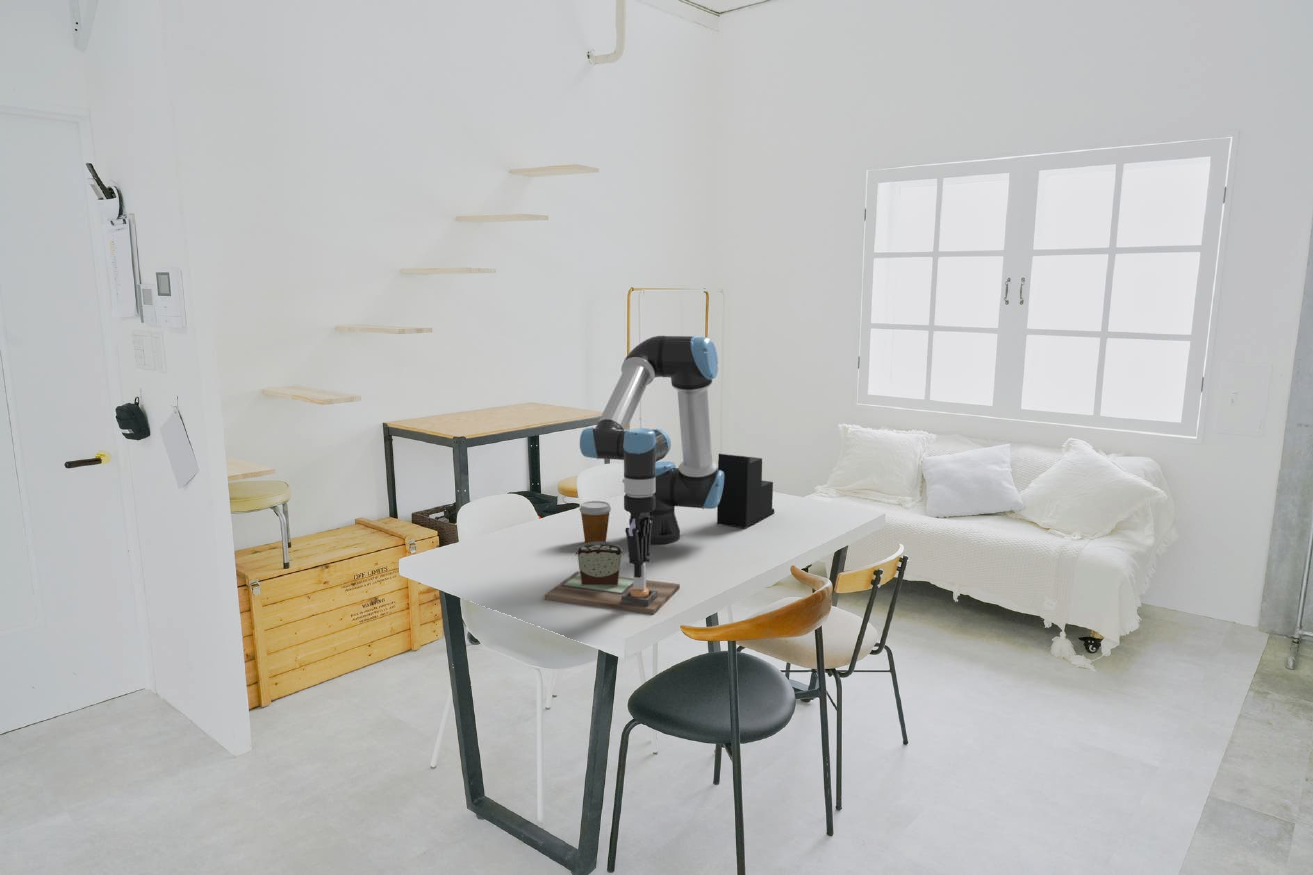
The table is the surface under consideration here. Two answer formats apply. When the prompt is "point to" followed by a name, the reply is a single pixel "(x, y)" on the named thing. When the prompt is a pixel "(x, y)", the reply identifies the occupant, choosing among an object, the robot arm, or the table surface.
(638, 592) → the button
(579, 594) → the picture board
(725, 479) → the black stepped block
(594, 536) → the disposable coffee cup
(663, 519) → the robot arm
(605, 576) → the food container
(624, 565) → the table surface
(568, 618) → the table surface
